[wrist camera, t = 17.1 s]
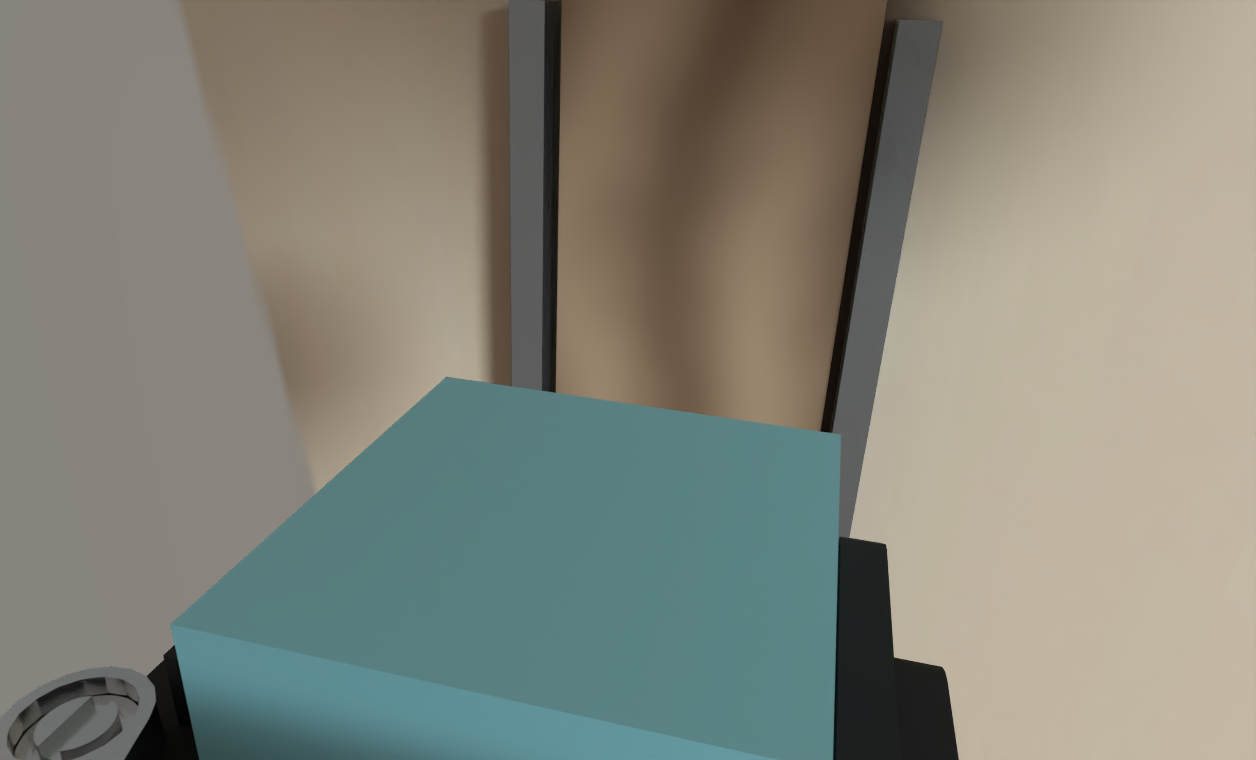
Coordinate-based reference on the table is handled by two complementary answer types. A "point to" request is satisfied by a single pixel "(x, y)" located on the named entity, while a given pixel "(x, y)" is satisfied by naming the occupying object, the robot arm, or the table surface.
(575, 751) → the teal block
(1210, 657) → the table surface
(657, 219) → the tan track base
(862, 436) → the guide rails
